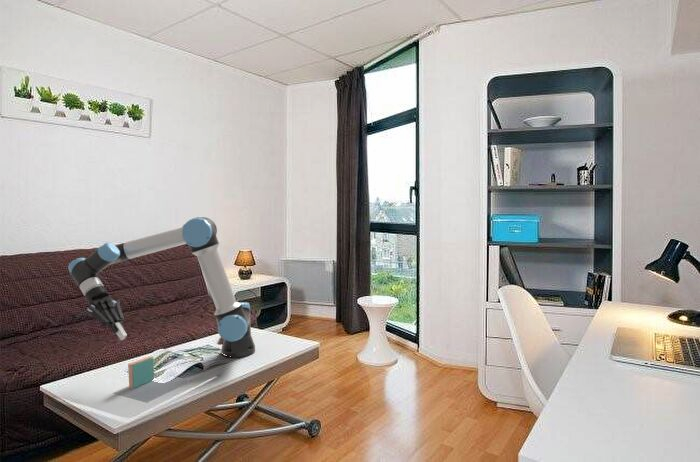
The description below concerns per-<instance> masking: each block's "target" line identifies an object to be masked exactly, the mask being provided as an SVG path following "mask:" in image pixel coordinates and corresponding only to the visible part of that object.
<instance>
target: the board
mask: <svg viewBox="0 0 700 462" xmlns="http://www.w3.org/2000/svg"><path fill="white" fill-rule="evenodd" d="M176 377H177V378H176V379H174V380H172V381H169V382H166V383H158V382H154V381H150V382H148V383H145V384H143V385H141V386H138V387H136V388H134V389H132V388H129V385H128V386H126V387H124V388H122V389H119V390H117V391H115V392H113V394H115V395H118V396H122V397H125V398H129V399H131V400H136V401H139V402H144V403H149V402H151V401H153V400H155V399H158V398H159V397H162V396H163V395H166V394H168V393H171V392H172V391H174V390H176V389H178V388H180V387H182V386H185V385H187V384H188V383H191V382H193V380H191V379H187V378H183V377H178V376H176Z"/></svg>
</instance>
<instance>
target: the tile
mask: <svg viewBox="0 0 700 462" xmlns="http://www.w3.org/2000/svg"><path fill="white" fill-rule="evenodd" d="M127 365H128V369H127V370H128V386H129V388H132V389H134V388H136V387H138V386H141V385H143V384H145V383H148V382H150V381H152V380H153V379H154V376H155V374H154V373H155V372H154V371H155V370H154V357H153V356H151V355H149V356H146V357H143V358H141V359H137V360H134V361H132V362H129V363H128V364H127Z"/></svg>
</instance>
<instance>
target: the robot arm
mask: <svg viewBox="0 0 700 462" xmlns="http://www.w3.org/2000/svg"><path fill="white" fill-rule="evenodd" d="M217 232H218V229H217V224H216V223H215V222H214V221H213V220H212V219H210V218H208V217H204V216H202V217H199V216H198V217H193V218H192V219H188V221H187V222H185V223H184V224H183V225H182V227H179V228H174V229H170V230H167V231H164V232H160V233H155V234H152V235H148V236H145V237H140V238H138V239H135V240H134V239H133V240H130V241H125V242H122V243H118V244H113V243H111V242H105V243H104V244H102V245H100V246H99V247H98V248H97V249H96V250H95V251H93V252H92V253H91V254H90V255H89V256H87V257H78V258H76V259H74V260H72V261H70V262H69V263H68V267H67V268H68V271H69V274H70V277H72V279H73V280H74V281H75V283H76V285H77V287H78V288H79V290H80V291H81V293H82V294H83V296H84V297H85V300H86V301H87V303H88V304H89V306H88V307H87V308H86V312H87V313H89V314H90V315H91V316H92V317H94V318H95V319H96V320H97V321H98V322H99V323H100V324H101V326H103V327H104V328H106V327H108V329H111V331H112V332H113V333H114V334H116V335H117V337H118V339H119V341H123V340H125V339H126V337H127V336H128V334H127V333H126V331H125V326H124V325H123V321H124V320H125V316H124V313H123V311H122V307H121V303H120V302H121V300H120V299H117V300H114V299H113V298H112V297H111V296H110V294H109V292H108V290H107V288H106V287H105V286H104V284H103V282H102V281H101V279H100V278H99V276H98V275H99V273H101V272H102V271H103V270H105V269H106V268H107V267H108V266H110V265H113V264H117V263H121V262H124V261H127V260H128V261H129V260H131V259H135V258H138V257H143V256H146V255H150V254H154V253H157V252H161V251H165V250H168V249H172V248H175V247H179V246H183V245H188V247H189V250H190V252H191V254H192V255H194V256H196V258H197V260H198V263H199V267H200V268H201V271H202V274H203V277H204V279H205V282H206V284H207V288H208V289H209V293H210V295H211V298H212V301H213V304H214V306H215V311H214V317H215V319H216V322H217V332H218V335H219V337H220V336H221V337H222V338H223V339H224V342H223V343H222V346H221V350H220V351H221V352H222V353H223V354H225V355H227V356H231V357H236V359H237V358H242V357H244V358H245V357H248V356H250V355H253V354H254V353H256V345H255V342H254V340H253V336H252V333H251V331H252V327H251V305H250V303H249V302H243V301H242V302H239V301H236V297H235V295H234V294H235V293H234V292H233V289H232V286H231V283H230V281H229V278H228V276H227V273H226V270H225V266H224V264H223V262H222V259H221V256H220V253H219V251H218V248H219V245H220V242H219V240H218V237H217ZM221 337H220V338H221ZM221 352H220V353H221Z"/></svg>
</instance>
